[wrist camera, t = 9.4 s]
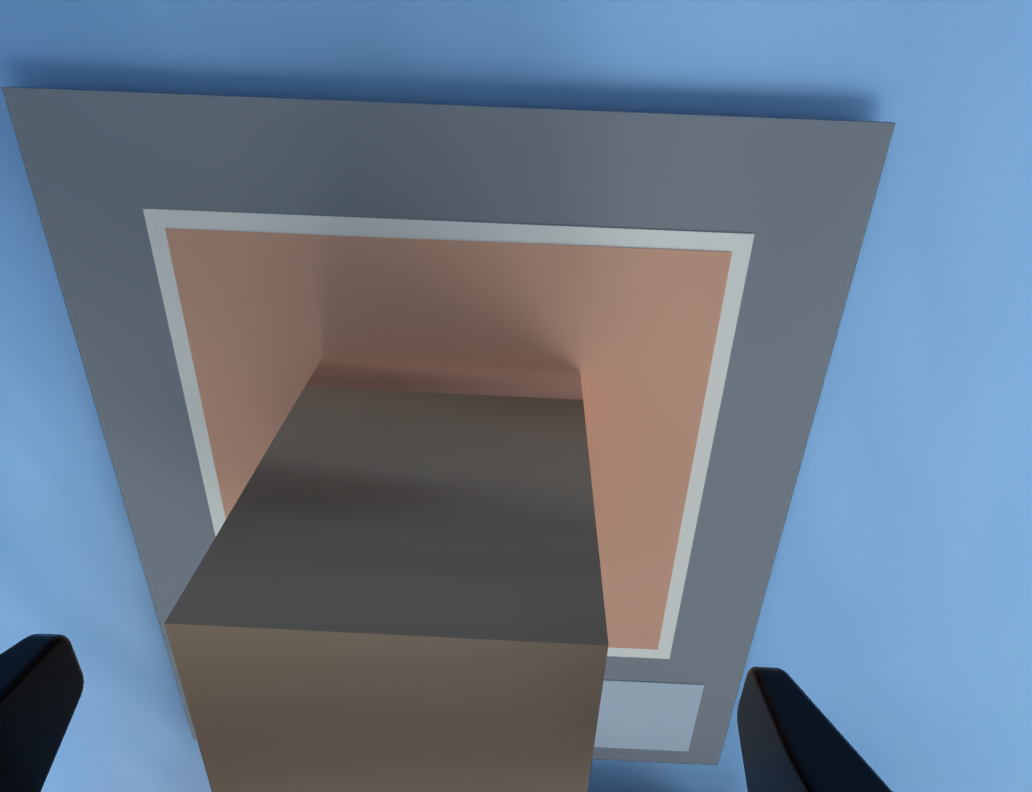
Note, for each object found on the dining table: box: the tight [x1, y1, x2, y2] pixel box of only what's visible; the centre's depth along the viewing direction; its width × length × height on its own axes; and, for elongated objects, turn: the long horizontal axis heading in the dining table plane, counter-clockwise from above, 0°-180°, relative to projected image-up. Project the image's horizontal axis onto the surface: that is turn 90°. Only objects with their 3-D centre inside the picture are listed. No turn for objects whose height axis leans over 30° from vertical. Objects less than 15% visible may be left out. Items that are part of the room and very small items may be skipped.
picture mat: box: [2, 87, 895, 765], centre depth 14 cm, size 13×15×1 cm
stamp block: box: [164, 359, 609, 792], centre depth 11 cm, size 4×4×6 cm
